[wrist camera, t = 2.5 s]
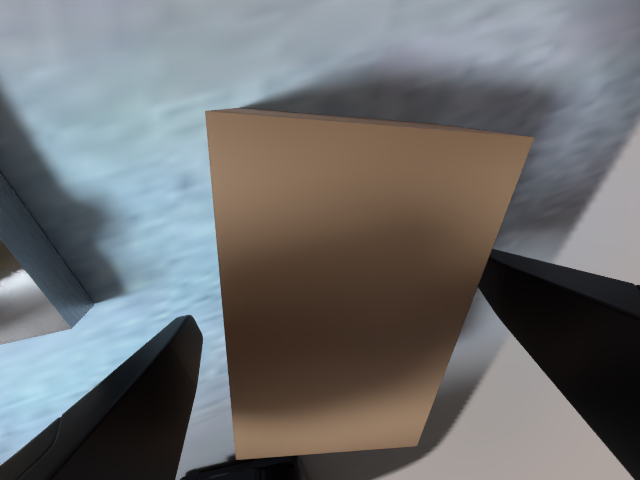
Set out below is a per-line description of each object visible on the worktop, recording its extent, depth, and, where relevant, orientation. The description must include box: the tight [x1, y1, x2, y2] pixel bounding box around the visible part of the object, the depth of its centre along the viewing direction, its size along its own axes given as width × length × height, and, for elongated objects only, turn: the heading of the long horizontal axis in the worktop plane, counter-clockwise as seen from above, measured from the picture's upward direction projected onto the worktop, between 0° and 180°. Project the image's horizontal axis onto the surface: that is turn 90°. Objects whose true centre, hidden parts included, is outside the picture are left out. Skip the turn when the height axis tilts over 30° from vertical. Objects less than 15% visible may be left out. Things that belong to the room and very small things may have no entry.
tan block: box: [205, 108, 534, 460], centre depth 9 cm, size 10×6×4 cm, turn 176°
